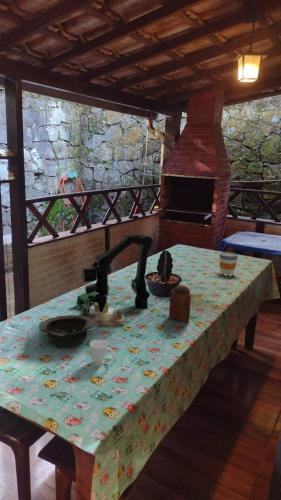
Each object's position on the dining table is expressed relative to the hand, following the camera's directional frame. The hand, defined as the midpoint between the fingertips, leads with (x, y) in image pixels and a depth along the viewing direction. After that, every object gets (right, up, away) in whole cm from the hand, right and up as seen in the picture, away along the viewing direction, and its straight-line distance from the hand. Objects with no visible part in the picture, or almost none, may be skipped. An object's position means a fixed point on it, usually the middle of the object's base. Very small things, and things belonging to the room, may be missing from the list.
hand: (101, 308), depth 190 cm
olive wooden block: (0, -1, 0) cm, 1 cm away
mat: (0, -2, +1) cm, 2 cm away
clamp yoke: (-6, -5, -11) cm, 14 cm away
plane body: (+1, -5, -11) cm, 12 cm away
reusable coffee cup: (+82, +13, +73) cm, 111 cm away
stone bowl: (-12, -9, -28) cm, 32 cm away
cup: (+5, -14, -47) cm, 49 cm away
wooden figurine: (+40, -5, -4) cm, 41 cm away
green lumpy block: (-9, 0, +10) cm, 13 cm away
